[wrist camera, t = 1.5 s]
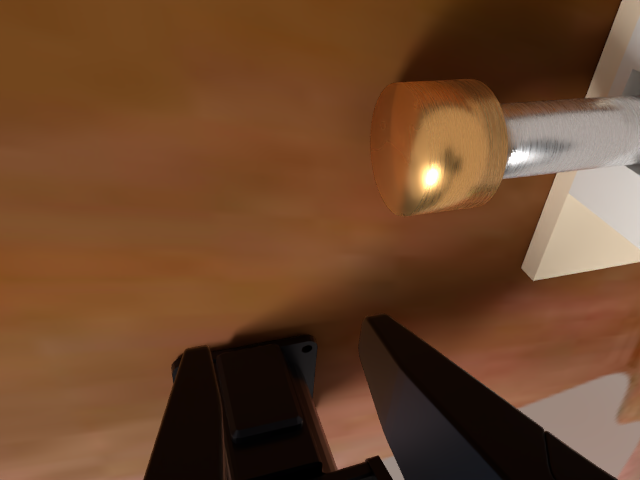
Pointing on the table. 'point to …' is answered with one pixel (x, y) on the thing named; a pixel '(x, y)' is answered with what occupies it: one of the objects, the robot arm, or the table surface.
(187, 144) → the table surface
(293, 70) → the table surface
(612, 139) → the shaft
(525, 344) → the table surface
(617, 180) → the bearing block
